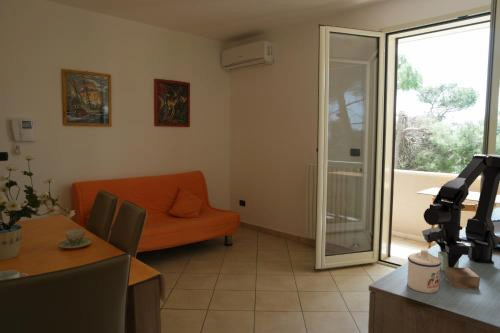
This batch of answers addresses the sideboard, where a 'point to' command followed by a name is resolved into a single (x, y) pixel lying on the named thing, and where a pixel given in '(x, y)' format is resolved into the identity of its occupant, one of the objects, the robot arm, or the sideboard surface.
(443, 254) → the green cube
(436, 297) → the sideboard surface
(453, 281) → the walnut block
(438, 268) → the teacup with lid
